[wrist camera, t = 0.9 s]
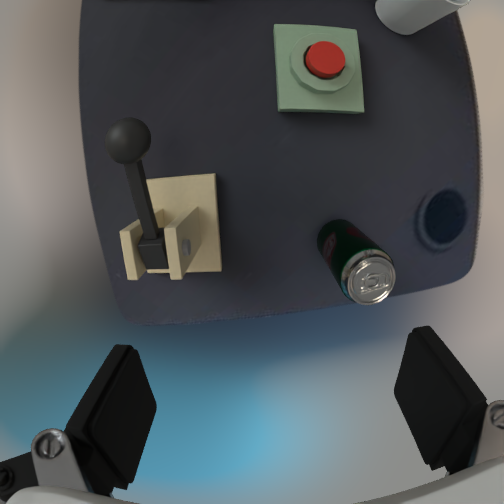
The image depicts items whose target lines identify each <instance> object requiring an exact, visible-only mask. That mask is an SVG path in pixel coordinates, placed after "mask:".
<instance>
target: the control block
mask: <svg viewBox="0 0 504 504" xmlns="http://www.w3.org/2000/svg"><path fill="white" fill-rule="evenodd" d="M273 34H274V49H275V64H276V82H277V101H278V112H324V113H345V114H360V113H363V112H364V100H363V86H362V74H361V63H360V54H359V45H358V37H357V30H354V29H346V28H338V27H327V26H314V25H293V24H274V30H273ZM320 41H328V42H332V43H334V44H336V45H337V46H339V47H340V48H341V50H342V51H343V53H344V55H345V65H344V67H343V69H342V70H341V71H339V72H338V73H337V74H336V75H335V76H333V77H329V78H322V77H319V76H316V75H315V74H313V73H312V72H311V71H310V70H309V69H308V67H307V65H306V55H307V53H308V51H309V49H310V47H311V46H312V45H313V44H315V43H317V42H320Z"/></svg>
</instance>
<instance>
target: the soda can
mask: <svg viewBox="0 0 504 504" xmlns="http://www.w3.org/2000/svg"><path fill="white" fill-rule="evenodd" d="M317 246H318V250H319V252H320V253H321V255H322V257H323V259H324V260H325V262H326V264H327V265H328V267H329V269H330V271H331V272H332V274H333V276H334V278H335V279H336V281H337V283H338V285H339V286H340V288H341V290H342V292H343V293H344V295H345V296H346V297H347V298H348V299H350V300H351V301H354V302H357V303H359V304H363V305H372V304H376V303H378V302H380V301H382V300H383V299H385V298H386V297H387V296H388V295H389V293H390V292H391V290H392V289H393V286H394V283H395V270H394V264H393V261H392V259H391V258H390V256H389V255H388V254H387V253H386V252H385V251H384V250H382V249H381V248H380V247H379V246H378V245H377V244H375V243H374V242H373V241H372V240H371V239H370V238H368V237H367V236H366V235H365V234H364V233H362V232H361V231H360V230H359V229H358V228H356V227H355V226H354V225H353V224H351V223H350V222H348V221H346V220H341V219H338V220H333V221H330V222H328V223H327V224H326V225H324V226H323V228H322V229H321V230H320V232H319V234H318V238H317Z"/></svg>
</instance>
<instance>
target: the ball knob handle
mask: <svg viewBox="0 0 504 504" xmlns="http://www.w3.org/2000/svg"><path fill="white" fill-rule="evenodd" d="M150 144H151V134H150V131H149V129H148V127H147V126H146V125H145V123H143V122H142V121H140V120H138V119H136V118H124V119H121V120H119V121H117V122H115V123H114V124H113V125H112V126H111V127H110V128H109V130H108V132H107V134H106V138H105V148H106V151H107V153H108V155H109V156H110V157H111V158H112V159H113V160H114V161H116V162H118V163H121V164H124V167H125V171H126V175H127V178H128V182H129V186H130V189H131V193H132V197H133V200H134V204H135V207H136V210H137V214H138V217H139V220H140V224H141V227H142V230H143V234H142V236H141V239H140V241H139V243H138V248H139V251H140V254H141V257H142V260H143V262H144V265H145V268H146V269H147V270H150V269H169V264H168V257H167V250H166V242H165V234H164V228H165V227H164V228H158V224H157V221H156V217H155V213H154V209H153V206H152V202H151V198H150V194H149V190H148V186H147V182H146V177H145V173H144V169H143V165H142V160H141V159H142V158H143V157H144V156H145V155H146V153H147V152H148V150H149V148H150Z"/></svg>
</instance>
